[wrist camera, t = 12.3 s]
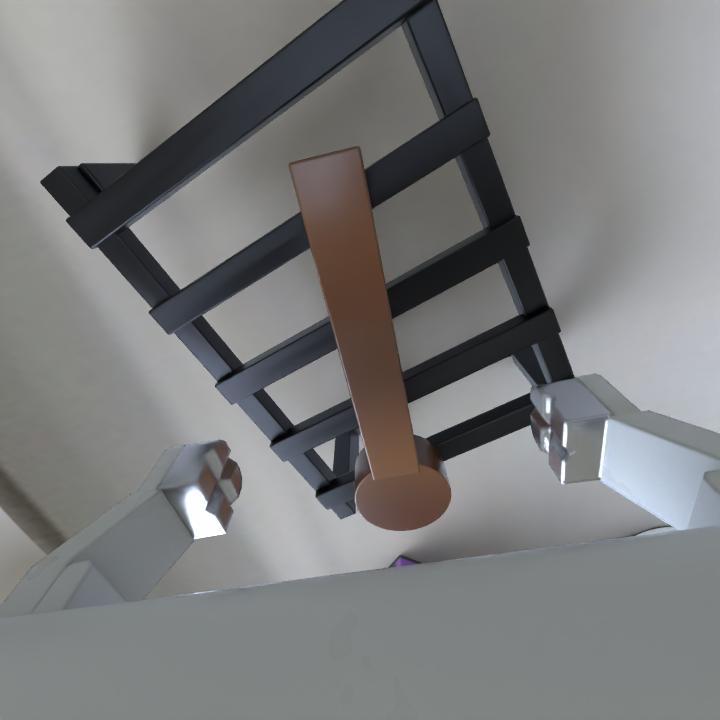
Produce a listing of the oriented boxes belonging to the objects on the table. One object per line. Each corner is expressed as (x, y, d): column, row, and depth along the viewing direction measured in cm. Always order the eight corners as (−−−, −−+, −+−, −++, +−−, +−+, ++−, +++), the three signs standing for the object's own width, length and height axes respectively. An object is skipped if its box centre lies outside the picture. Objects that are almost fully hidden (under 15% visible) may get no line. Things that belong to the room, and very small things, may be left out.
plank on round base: (266, 171, 12) (245, 173, 10) (396, 139, 12) (404, 134, 10) (364, 503, 20) (365, 548, 18) (446, 491, 19) (458, 535, 17)
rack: (137, 176, 19) (29, 182, 13) (381, -15, 15) (396, -131, 9) (344, 443, 27) (340, 526, 21) (533, 356, 23) (594, 423, 17)
